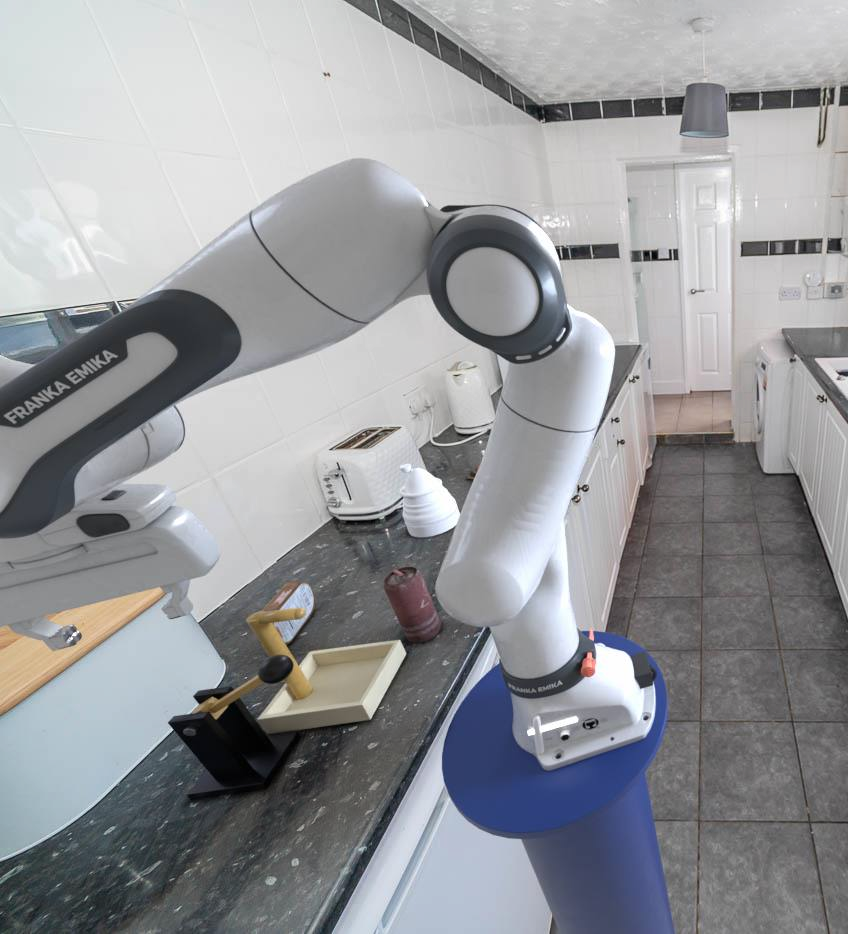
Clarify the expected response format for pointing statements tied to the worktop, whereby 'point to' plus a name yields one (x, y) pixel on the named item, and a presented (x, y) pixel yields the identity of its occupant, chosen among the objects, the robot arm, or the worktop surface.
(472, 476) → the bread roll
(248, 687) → the tap lever
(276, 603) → the tin
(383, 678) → the cream wooden tray
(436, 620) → the can
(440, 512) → the honey pot
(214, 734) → the bracket
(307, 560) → the worktop surface
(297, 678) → the spout
